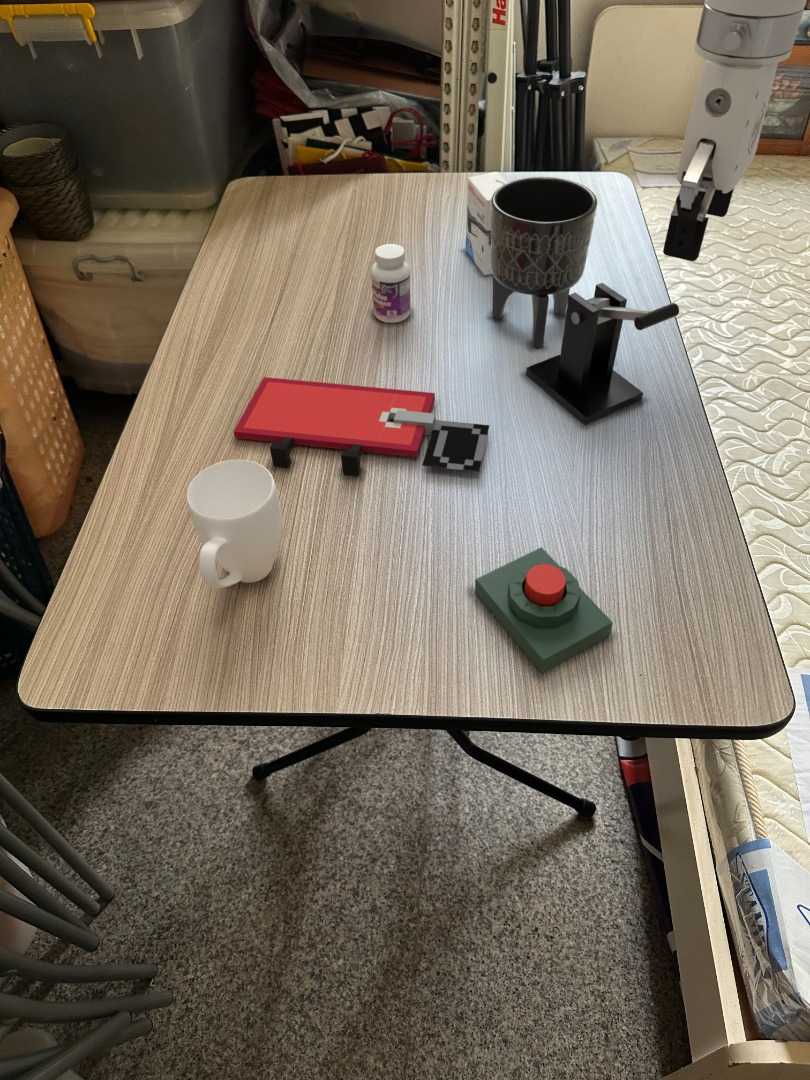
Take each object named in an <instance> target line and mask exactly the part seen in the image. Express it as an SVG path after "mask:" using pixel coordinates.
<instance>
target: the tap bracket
mask: <svg viewBox="0 0 810 1080" xmlns="http://www.w3.org/2000/svg"><path fill="white" fill-rule="evenodd" d="M593 298H608V299H609V300H610V306H611V307H623V308H627V303H628V299H627V298H626V297H624V296H623V295H621V294H620V293H618V292H617V291H615V289H612V288H611V287H609V286H608V285H607V284H605V283H603V282H600V283H598V284H595V288H594V296H593ZM587 300H588V299H585V298H584V297H583V296H581V295H580V294H578V293H577V292H573V293H571V294H570V293H569V296H568V303H567V308H566V314H565V318H564V326H563V334H562V341H561V348H560V354H556V355H555V356H552V357H550V358H547V359H544V360H542V361H540V362H536V363H534V364H531V365H529V366H527V367H526V368H525V369H526V371H525V376H526V377H528V378H529V379H530V380H531V381H532V382H533V383H535V384H536V385H537V386H538V387H539V388H540V389H542V390H543V391H544V392H545V393H546V394H547V395H549V397H551V398H552V399H553V400H554V401H555V402H557V403H558V404H559V405H560V406H561V407H562V408H564V409H565V410H566V411H567V412H568V413H570V414H571V415H572V416H573V417H574V418H576V419H577V421H579V422H580V423H581V424H582V425H584V426H586V425H589V424H590V423H593V422H595V421H597V420H600V419H602V418H604V417H606V416H607V417H608V416H609V415H611V414H614V413H616V412H618V411H620V410H623V409H625V408H627V407H630V406H632V405H634V404H637V403H639V402H641V401H642V400H643V396H644V392H643V391H642V390H640V389H639V388H638V387H637V386H635V385H634V384H633V383H632V382H630V381H629V380H628V379H626V378H625V377H623V376H622V375H621V374H619V373H618V372H617V371H616V370H615V369H614V367H615V363H616V357H617V351H618V347H619V343H620V338H621V332H622V327H623V321H624V320H623V319H613V318H612V319H611V320H608V321H605V322H603V323H600V324H598V325H597V323H598V317H599V311H600V310H599V309H598V308H596V307H595V306H594V305H592V304H591V303H589V302H588V301H587Z"/></svg>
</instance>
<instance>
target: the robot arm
mask: <svg viewBox="0 0 810 1080" xmlns="http://www.w3.org/2000/svg"><path fill="white" fill-rule="evenodd" d="M807 1H808V0H704V3H703V6H702V11H701V16H700V20H699V26H698V29H697V34H696V39H695V45H694V51H695V53H696V54H697V55H698V56H700V57H702V58H703V59H704V60H703V64H702V67H701V70H700V74H699V78H698V82H697V84H696V88H695V89H696V90H695V94H694V98H693V101H692V105H691V108H690V114H689V118H688V122H687V126H686V130H685V134H684V138H683V141H682V142H683V143H682V147H681V152H680V155H679V162H678V168H677V173H676V180H677V182H678V184H680V188H679V191H678V194H677V196H676V199H675V202H674V205H673V208H672V211H671V214H670V217H669V222H668V226H667V231H666V236H665V241H664V245H663V249H662V253H663V255H664V256H666V257H667V256H668V257H672V258H676V259H680V260H685V261H688V262H696V261H697V260H698V259H699V257H700V253H701V249H702V245H703V243H704V242H703V241H704V237H705V234H706V230H707V226H708V222H709V219H710V217H708V216H714V217H718V218H724V217H726V215H727V213H728V211H729V208H730V204H731V201H732V197H733V194H734V190H735V188H736V186H737V185H738V183H739V181H741V179H742V178H743V176H744V174H745V173H746V172H747V169H748V168H749V167H750V165H751V164H752V162H753V161H754V160H753V159H754V158H755V157H756V152H757V150H758V145H759V141H760V137H761V135H762V134H761V133H762V130H763V125H764V121H765V118H766V114H767V109H768V106H769V102H770V98H771V94H772V90H773V86H774V82H775V78H776V73H777V70H778V69H777V68H778V64H779V63H781V62H784V61H786V60H788V59H789V58H790V57H791V54H792V51H793V49H794V45H795V42H796V38H797V34H798V31H799V28H800V25H801V21H802V18H803V14H804V12H805V11H804V10H805V7H806V5H807ZM706 215H708V216H706Z"/></svg>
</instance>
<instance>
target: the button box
mask: <svg viewBox="0 0 810 1080" xmlns="http://www.w3.org/2000/svg"><path fill="white" fill-rule="evenodd" d="M541 564H548V565H552V566H555V567H557V568H558V569H560V570H561V571H562V572H563V574H564V576H565V579H566V583H565V588H564V594H563V597H562V599H561V600H560V601H559V602H557V603H556V604H553V605H549V606H542V605H538V604H536V603H534V602H532V601H531V600H530V599H529V598H528V597H527V595H526V593H525V583H526V576H527V573H528V571H529V570H530V569H531V568H532V567H534V566H537V565H541ZM474 582H475V585H474V594H475V595H476V596H477V597H478V599H479V600H480V601H481V602H482V604H483V605H484V606H485V607H486V608H487V610H488V611H489V612H490V613H491V614H492V616H493V617H494V618H495V619H496V620H497V622H498V623H499V624H500V625H501V627H502V628H503V629H504V630H505V632H506V633H507V634H508V635H509V636H510V637H511V639H512V640H513V641H514V643H516V645H517V646H518V647H519V649H521V651H522V652H523V653H524V655H525V657H527V658H528V659H529V661H530V663H532V664H533V666H534V667H535V668H536V669H537V671H539V673H540V674H543V673H545V672H547V671H548V670H550V669H552V668H554V667H556V666H557V665H559V664H561V663H563V662H565V661H566V660H568V659H570V658H572V657H574V656H575V655H578V654H579V653H581V652H583V651H585V650H587V649H588V648H590V647H592V646H594V645H595V644H597V643H599V642H602V641H603V640H605V639H606V638H608V637H610V635H611V631H612V627H613V624H614V622H613V621H612V620H611V619H610V617H608V616H607V615H606V613H605V612H604V611H603V610H602V609H601V608H600V607H599V606H598V605H597V604H596V603H595V602H594V601H593V600H592V599H591V598H590V596H589V595H588V594H587V593H586V592H585V591H583V589H582V588H581V587H580V584H579V581H578V579H577V578H576V577H575V576H574V575H573V574H572V573H571V572H570V571H569V570H568V569H567V568H566V567H563V566H561V565H559V564H558V563H557V562H556V560H554V559H553V558H552V556H551V555H550V554H549V553H548V552H547V551H546V550H545V549H544V548H543V547H538V548H537V549H535V550H532V551H531V552H528V553H526V554H524V555H522V556H521V557H518V558H516V559H514V560H512V561H509V562H508V563H506V564H504V565H502V566H499V567H498V568H496V569H493V570H492V571H489V572H487V573H486V574H484V575H481V576H480V577H477V578H476V579H475V581H474Z"/></svg>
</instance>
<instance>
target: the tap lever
mask: <svg viewBox="0 0 810 1080" xmlns="http://www.w3.org/2000/svg"><path fill="white" fill-rule="evenodd" d="M586 300H587V301H588V302H589V303H591V304H592V305H594V306H595V307H596V308H598V309H599V310H600V311H599V317H598V323H597V325H598V324H600V323H603V322H605V321H608V320H611V319H612V318H613V319H623V321H633V324H634V328H635V329H636V330H638V331H643V330H645V329H647V328H650V327H652V326H655V325H658V324H660V323H662V322H663V323H664V322H666V321H667V320H670V319H673V318H676V317H678V315H679V314H680V307H679V305H678V304H677V303H675V302H671V303H669V304H667V305H664V306H661V307H658V308H656V309H649V308H648V309H647V308H635V307H626V308H623V307H611V306H610V300H609V299H608V298H594V297H591V298H588V299H586Z"/></svg>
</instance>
